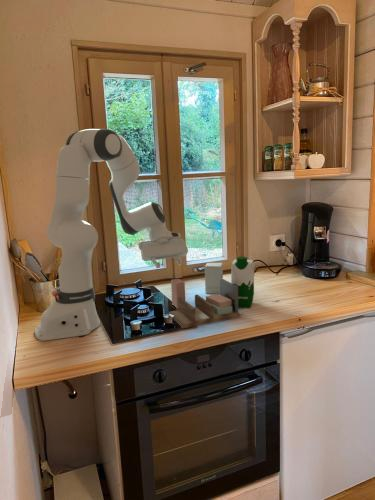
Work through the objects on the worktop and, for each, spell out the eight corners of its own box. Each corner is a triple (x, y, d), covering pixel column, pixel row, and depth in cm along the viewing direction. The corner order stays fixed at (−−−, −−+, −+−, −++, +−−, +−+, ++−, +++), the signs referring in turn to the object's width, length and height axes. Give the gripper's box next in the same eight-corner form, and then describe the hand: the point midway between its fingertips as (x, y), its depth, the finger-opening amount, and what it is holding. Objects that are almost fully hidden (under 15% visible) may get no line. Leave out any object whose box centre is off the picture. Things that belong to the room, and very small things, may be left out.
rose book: (177, 310, 150) (176, 283, 148) (172, 305, 155) (171, 279, 153) (185, 308, 151) (184, 282, 149) (180, 304, 157) (179, 278, 155)
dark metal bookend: (235, 312, 140) (235, 287, 139) (220, 303, 151) (219, 279, 149) (238, 312, 141) (238, 286, 139) (223, 302, 152) (222, 278, 150)
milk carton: (230, 308, 150) (229, 258, 146) (233, 300, 159) (233, 253, 155) (252, 309, 148) (252, 259, 144) (255, 301, 156) (254, 254, 152)
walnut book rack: (182, 328, 132) (181, 310, 131) (168, 315, 145) (168, 299, 143) (240, 316, 140) (240, 300, 139) (222, 305, 153) (222, 290, 152)
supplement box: (221, 294, 168) (221, 266, 166) (205, 293, 170) (204, 266, 167) (223, 289, 175) (222, 262, 173) (207, 288, 177) (206, 262, 174)
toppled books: (217, 315, 139) (217, 303, 138) (205, 306, 148) (205, 295, 147) (233, 312, 141) (233, 300, 140) (220, 304, 151) (220, 293, 150)
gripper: (138, 237, 159) (146, 264, 152) (183, 233, 167) (193, 258, 160) (136, 246, 164) (144, 273, 157) (180, 241, 172) (189, 266, 165)
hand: (169, 265), depth 159 cm, fingers open, 8 cm apart
